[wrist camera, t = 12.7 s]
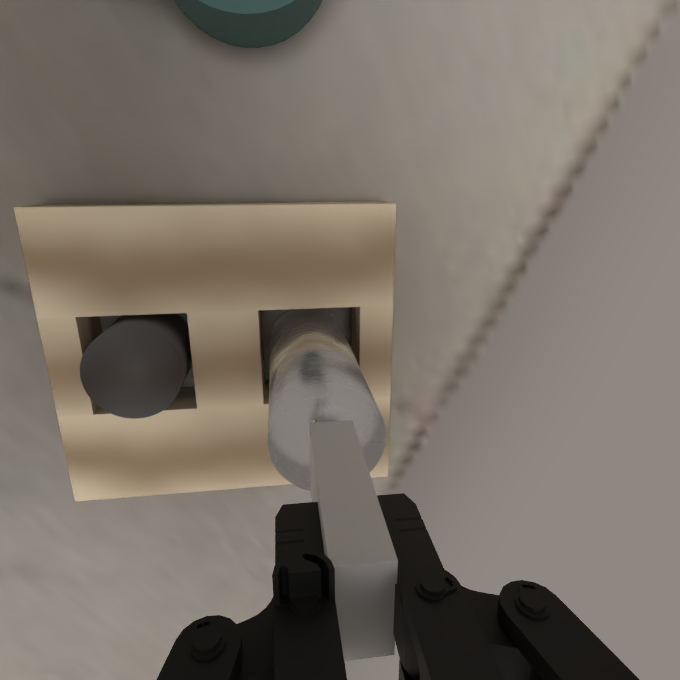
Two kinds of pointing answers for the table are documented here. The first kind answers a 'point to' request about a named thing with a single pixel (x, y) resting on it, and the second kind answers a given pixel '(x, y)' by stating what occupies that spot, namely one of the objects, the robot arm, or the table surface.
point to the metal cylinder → (316, 391)
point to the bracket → (250, 19)
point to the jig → (193, 329)
